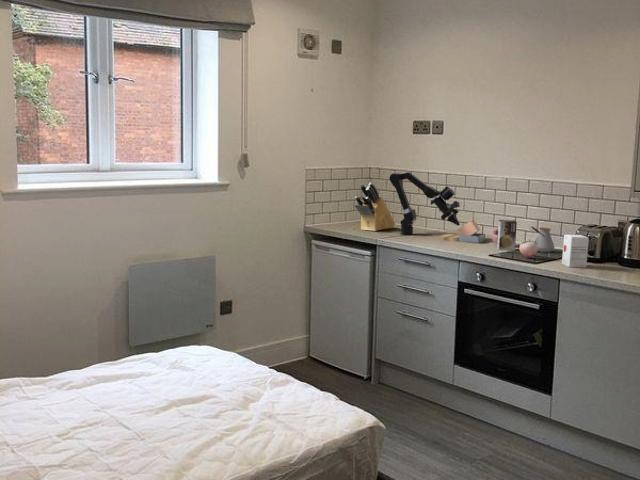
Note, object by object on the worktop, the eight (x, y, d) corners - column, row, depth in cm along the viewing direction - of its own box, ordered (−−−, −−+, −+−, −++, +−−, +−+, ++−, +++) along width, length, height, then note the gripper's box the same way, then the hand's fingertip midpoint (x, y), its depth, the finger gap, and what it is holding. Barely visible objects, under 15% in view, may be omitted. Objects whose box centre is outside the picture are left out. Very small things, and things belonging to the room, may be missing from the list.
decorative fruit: (524, 259, 364) (526, 240, 363) (516, 257, 372) (517, 238, 371) (541, 259, 367) (542, 240, 366) (532, 256, 375) (533, 237, 373)
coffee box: (513, 248, 401) (515, 220, 398) (515, 250, 394) (517, 221, 392) (496, 247, 401) (498, 219, 399) (498, 249, 395) (500, 220, 393)
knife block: (351, 231, 450) (353, 182, 446) (380, 226, 479) (382, 180, 474) (367, 233, 444) (369, 183, 439) (395, 228, 472) (397, 181, 468)
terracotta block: (457, 230, 425) (470, 221, 420) (460, 228, 431) (474, 220, 426) (463, 240, 424) (477, 231, 419) (466, 238, 430) (480, 229, 425)
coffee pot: (538, 249, 402) (540, 222, 400) (557, 252, 394) (560, 225, 392) (519, 252, 387) (521, 225, 385) (538, 255, 379) (540, 227, 377)
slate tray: (458, 241, 421) (459, 234, 421) (465, 238, 434) (465, 232, 433) (478, 243, 416) (479, 236, 415) (485, 240, 428) (485, 234, 428)
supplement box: (561, 263, 356) (563, 234, 354) (578, 264, 357) (581, 234, 355) (568, 267, 347) (571, 236, 345) (586, 267, 348) (589, 237, 346)
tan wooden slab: (438, 239, 427) (438, 236, 427) (445, 236, 439) (445, 233, 439) (458, 241, 422) (458, 238, 421) (464, 238, 434) (465, 235, 434)
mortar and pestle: (488, 245, 408) (490, 225, 407) (493, 243, 419) (494, 223, 417) (510, 247, 403) (511, 227, 401) (514, 245, 414) (515, 225, 412)
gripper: (447, 197, 419) (464, 217, 416) (456, 195, 435) (473, 215, 432) (433, 210, 424) (450, 230, 420) (443, 207, 440) (459, 226, 437)
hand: (459, 225), depth 427 cm, fingers closed
